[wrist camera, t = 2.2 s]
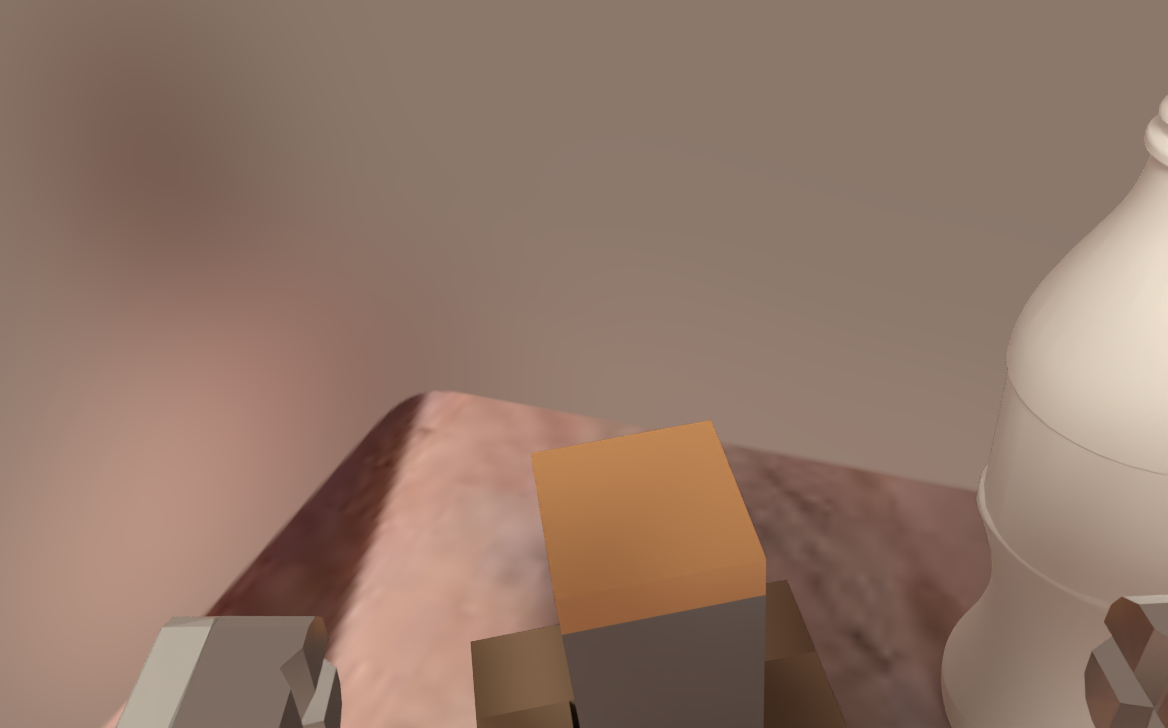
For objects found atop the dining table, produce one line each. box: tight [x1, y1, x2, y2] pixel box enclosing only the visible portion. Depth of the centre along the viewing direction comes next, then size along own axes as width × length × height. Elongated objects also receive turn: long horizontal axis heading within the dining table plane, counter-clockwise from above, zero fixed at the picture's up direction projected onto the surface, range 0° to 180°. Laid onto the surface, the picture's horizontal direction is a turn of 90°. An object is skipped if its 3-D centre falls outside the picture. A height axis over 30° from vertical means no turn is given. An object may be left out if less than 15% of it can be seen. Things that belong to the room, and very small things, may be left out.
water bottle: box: [941, 95, 1168, 728], centre depth 27 cm, size 7×7×25 cm
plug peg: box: [531, 420, 766, 728], centre depth 27 cm, size 4×4×16 cm
